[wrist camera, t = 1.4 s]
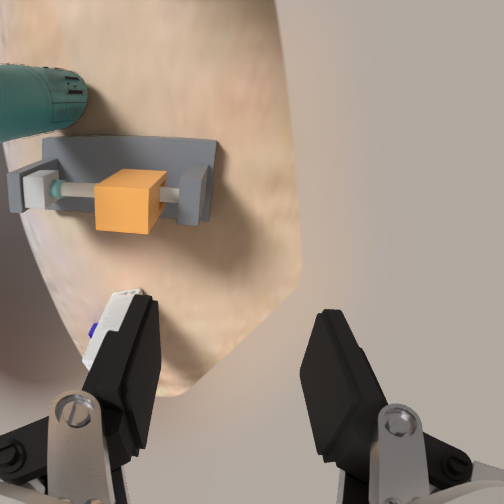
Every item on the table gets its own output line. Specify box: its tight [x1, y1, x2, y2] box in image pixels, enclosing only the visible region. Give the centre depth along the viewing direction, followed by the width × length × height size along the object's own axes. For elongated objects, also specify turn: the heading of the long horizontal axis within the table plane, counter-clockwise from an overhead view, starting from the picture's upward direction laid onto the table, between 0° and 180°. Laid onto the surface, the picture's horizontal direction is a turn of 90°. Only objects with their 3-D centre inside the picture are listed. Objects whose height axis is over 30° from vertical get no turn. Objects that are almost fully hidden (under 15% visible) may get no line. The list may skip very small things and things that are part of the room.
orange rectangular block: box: [94, 169, 167, 234], centre depth 23 cm, size 3×4×6 cm
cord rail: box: [7, 135, 217, 226], centre depth 26 cm, size 8×19×9 cm, turn 83°
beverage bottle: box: [0, 63, 88, 143], centre depth 17 cm, size 6×7×20 cm
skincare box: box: [82, 288, 143, 371], centre depth 32 cm, size 6×4×12 cm
